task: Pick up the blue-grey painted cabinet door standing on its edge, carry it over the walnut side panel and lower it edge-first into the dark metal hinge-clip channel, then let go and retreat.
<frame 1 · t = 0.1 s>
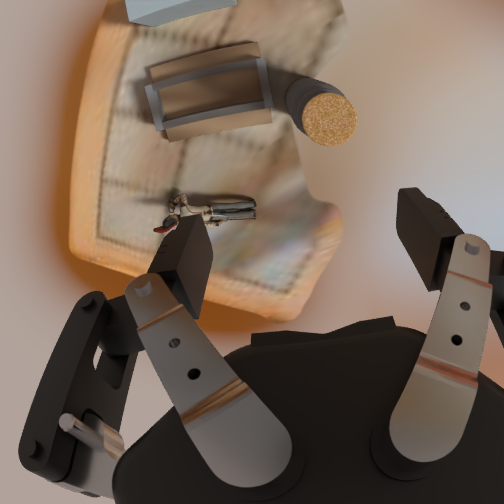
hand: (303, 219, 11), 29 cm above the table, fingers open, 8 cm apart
figurine: (211, 203, 44), on the table
bottle: (307, 98, 34), on the table
door: (192, 4, 26), on the table
hinge mount: (211, 91, 34), on the table
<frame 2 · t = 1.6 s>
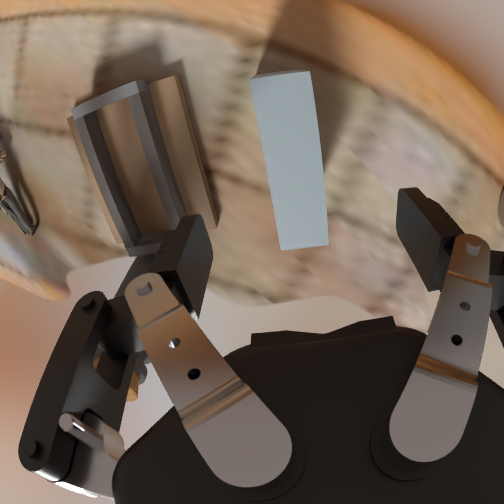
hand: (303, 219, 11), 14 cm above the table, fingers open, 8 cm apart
figurine: (16, 180, 26), on the table
bottle: (158, 269, 32), on the table
door: (287, 135, 23), on the table
hinge mount: (142, 165, 25), on the table
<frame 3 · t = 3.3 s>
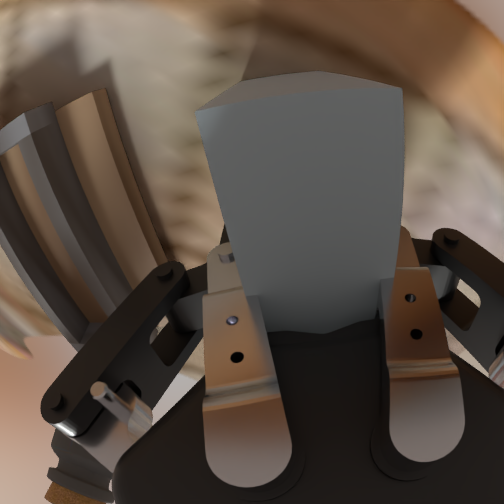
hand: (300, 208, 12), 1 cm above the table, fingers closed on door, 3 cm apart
bottle: (121, 351, 23), on the table
door: (298, 193, 13), on the table, touching gripper
hinge mount: (74, 233, 15), on the table
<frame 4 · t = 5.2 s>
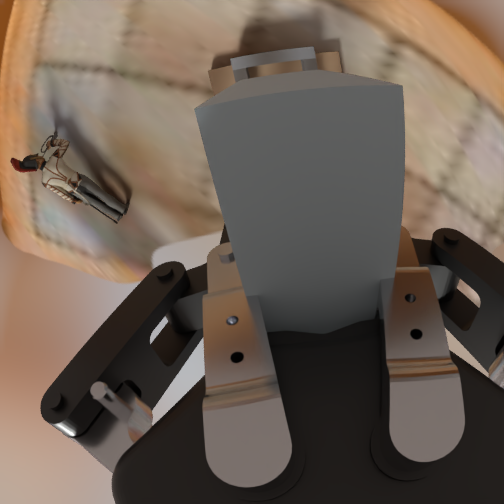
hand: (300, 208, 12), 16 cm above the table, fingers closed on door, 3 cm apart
figurine: (88, 171, 29), on the table
door: (298, 192, 13), point 14 cm above the table, touching gripper
hinge mount: (286, 131, 25), on the table
when the fingers open (4 cm above the table, at t = 7.1 s): door drops 1 cm, resting on hinge mount.
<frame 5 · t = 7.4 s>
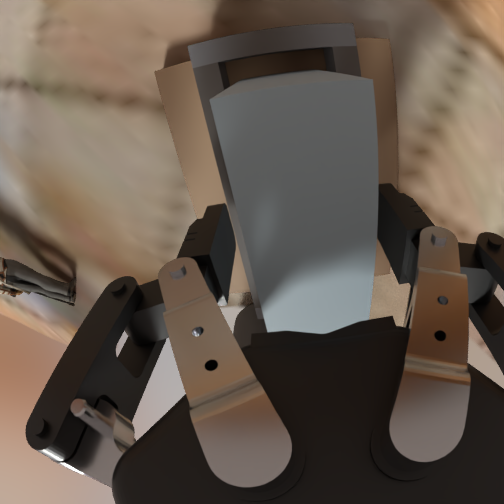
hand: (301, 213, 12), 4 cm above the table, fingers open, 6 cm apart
figurine: (23, 249, 20), on the table
bottle: (271, 322, 23), on the table
door: (296, 181, 14), point 1 cm above the table, touching hinge mount
hinge mount: (293, 173, 15), on the table
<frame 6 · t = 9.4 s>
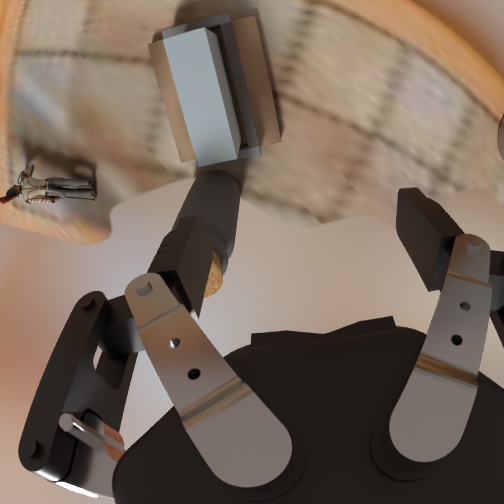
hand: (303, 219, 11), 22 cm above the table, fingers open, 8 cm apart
figurine: (58, 177, 33), on the table
bottle: (216, 191, 35), on the table
door: (214, 88, 26), point 1 cm above the table, touching hinge mount
hinge mount: (216, 88, 27), on the table
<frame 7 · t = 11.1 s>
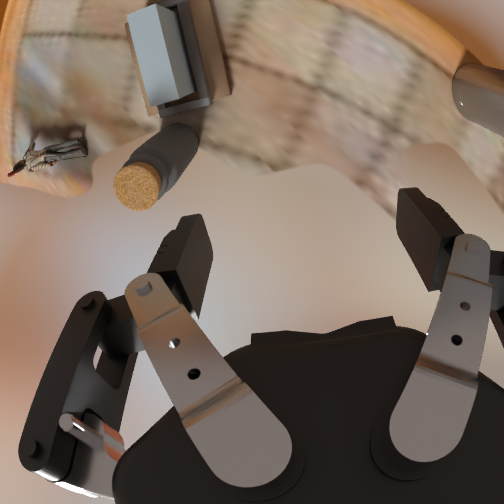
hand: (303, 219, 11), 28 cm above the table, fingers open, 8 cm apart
figurine: (56, 148, 38), on the table
bottle: (178, 142, 37), on the table
door: (175, 54, 29), point 1 cm above the table, touching hinge mount
hinge mount: (177, 55, 30), on the table
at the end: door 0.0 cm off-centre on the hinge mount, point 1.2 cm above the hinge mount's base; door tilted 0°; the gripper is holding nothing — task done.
